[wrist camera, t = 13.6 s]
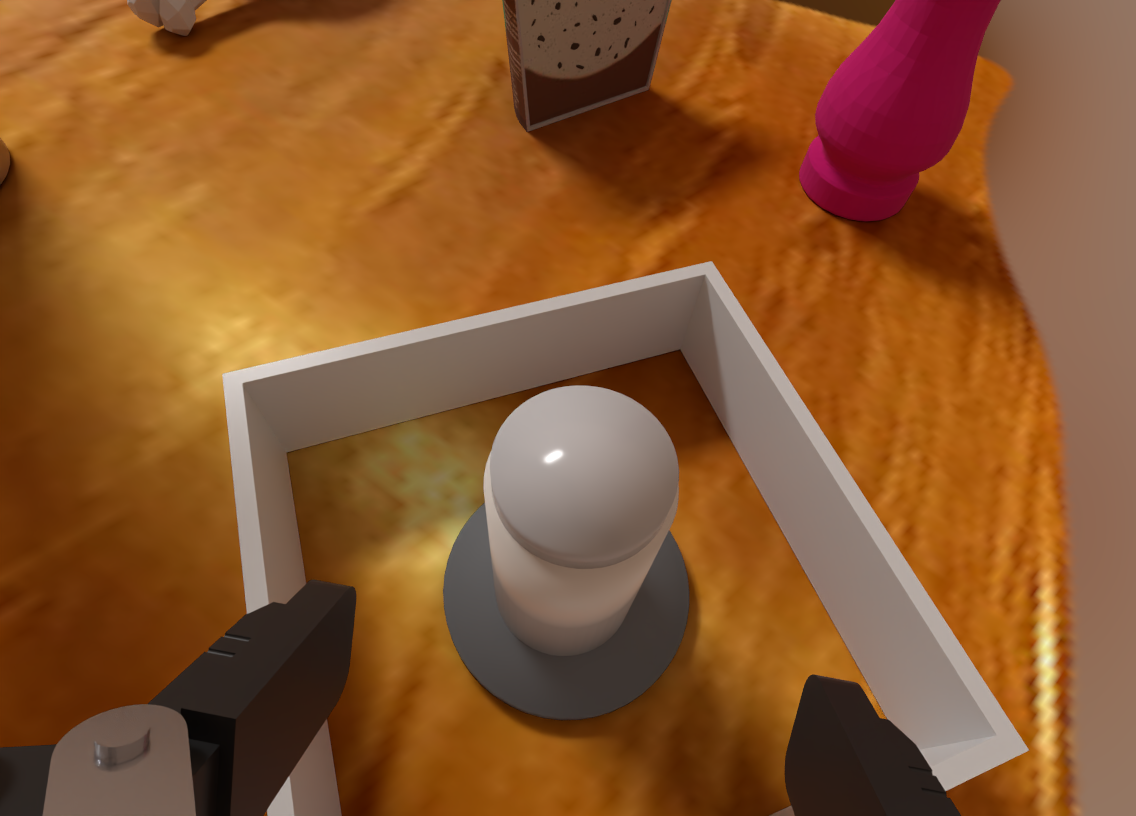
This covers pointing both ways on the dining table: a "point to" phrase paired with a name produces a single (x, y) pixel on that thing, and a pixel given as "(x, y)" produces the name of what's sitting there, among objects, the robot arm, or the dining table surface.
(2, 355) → the dining table surface
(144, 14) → the chicken leg
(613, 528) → the sugar shaker
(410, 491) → the dining table surface
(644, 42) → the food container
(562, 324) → the grey square frame
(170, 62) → the dining table surface
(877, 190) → the pepper mill
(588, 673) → the coaster
